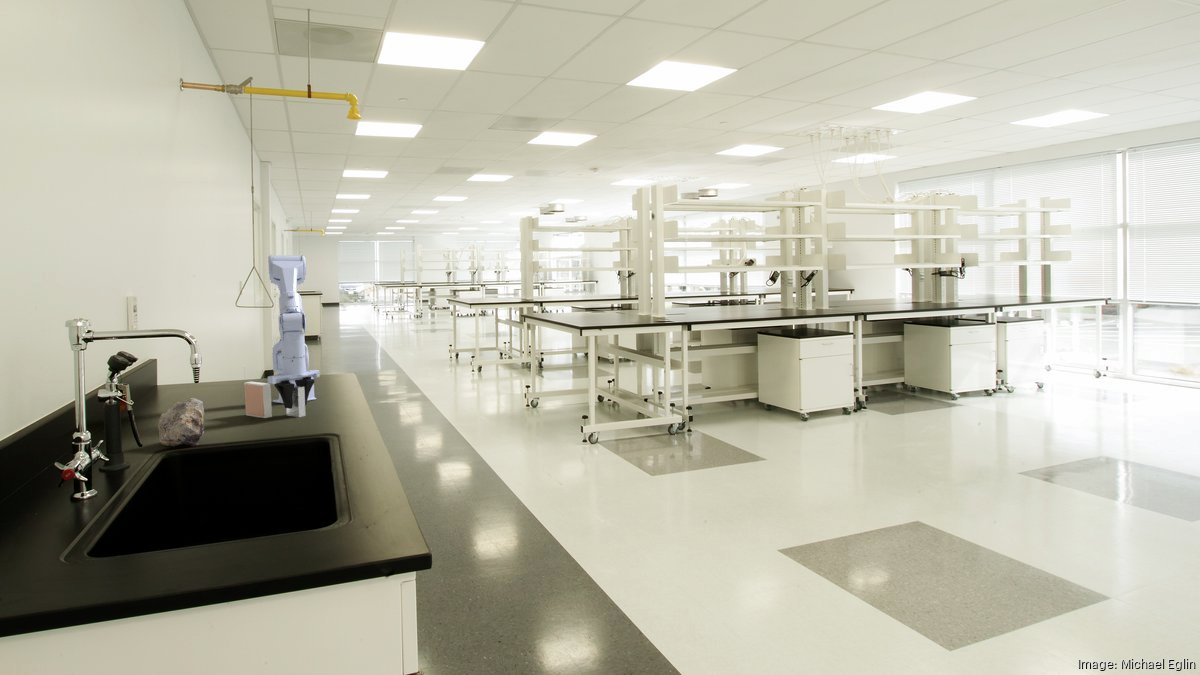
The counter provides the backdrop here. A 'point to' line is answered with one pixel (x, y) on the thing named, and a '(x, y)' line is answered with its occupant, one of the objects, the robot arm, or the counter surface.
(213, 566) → the counter surface
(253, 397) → the tile
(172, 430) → the rock
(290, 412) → the pale grey upright block
